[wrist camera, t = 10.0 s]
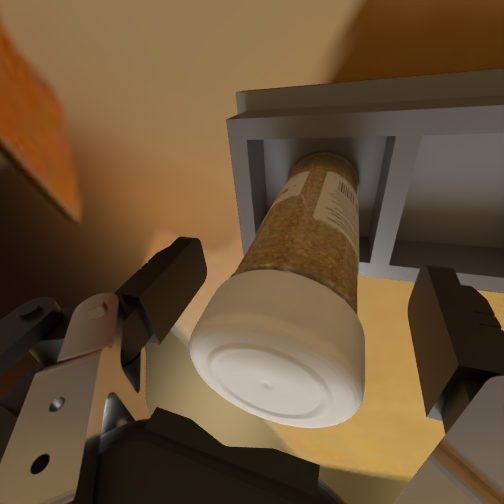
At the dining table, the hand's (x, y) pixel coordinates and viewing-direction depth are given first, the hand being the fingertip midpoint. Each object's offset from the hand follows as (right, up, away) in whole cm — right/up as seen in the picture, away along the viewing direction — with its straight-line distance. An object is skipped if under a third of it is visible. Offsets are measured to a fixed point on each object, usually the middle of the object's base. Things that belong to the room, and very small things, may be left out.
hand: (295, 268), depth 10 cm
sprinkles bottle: (+3, +5, +7) cm, 9 cm away
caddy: (+7, +5, +7) cm, 11 cm away
